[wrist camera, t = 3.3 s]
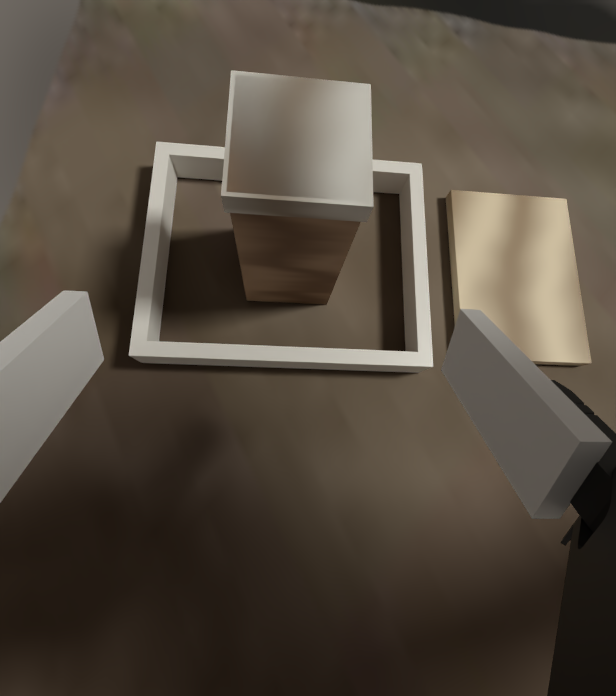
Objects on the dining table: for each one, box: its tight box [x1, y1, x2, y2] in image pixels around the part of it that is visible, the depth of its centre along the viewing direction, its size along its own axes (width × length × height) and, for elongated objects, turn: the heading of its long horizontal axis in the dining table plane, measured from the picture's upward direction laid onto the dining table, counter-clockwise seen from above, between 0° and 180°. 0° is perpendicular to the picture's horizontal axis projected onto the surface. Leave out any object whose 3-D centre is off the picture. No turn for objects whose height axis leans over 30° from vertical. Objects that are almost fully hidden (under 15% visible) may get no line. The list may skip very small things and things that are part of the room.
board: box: [446, 190, 591, 366], centre depth 30 cm, size 10×14×1 cm
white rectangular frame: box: [129, 142, 433, 373], centre depth 28 cm, size 20×16×2 cm
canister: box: [221, 70, 373, 305], centre depth 23 cm, size 6×6×13 cm
